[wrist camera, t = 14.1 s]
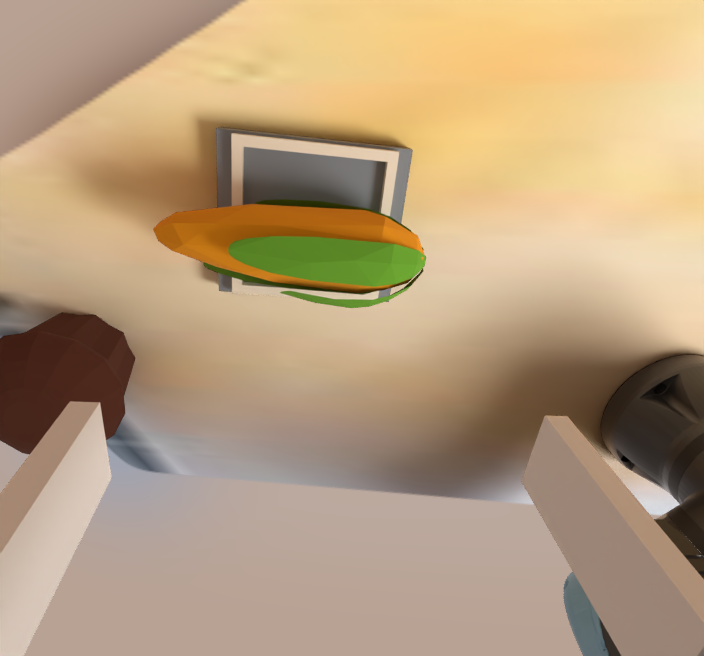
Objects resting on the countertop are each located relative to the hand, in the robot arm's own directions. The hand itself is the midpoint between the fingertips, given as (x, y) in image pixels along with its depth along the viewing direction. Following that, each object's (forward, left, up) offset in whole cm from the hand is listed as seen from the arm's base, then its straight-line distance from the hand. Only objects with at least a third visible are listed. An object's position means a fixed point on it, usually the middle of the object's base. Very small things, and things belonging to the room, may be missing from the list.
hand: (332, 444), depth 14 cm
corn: (-1, +1, -27) cm, 27 cm away
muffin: (-14, +20, -29) cm, 38 cm away
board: (0, 0, -29) cm, 29 cm away
